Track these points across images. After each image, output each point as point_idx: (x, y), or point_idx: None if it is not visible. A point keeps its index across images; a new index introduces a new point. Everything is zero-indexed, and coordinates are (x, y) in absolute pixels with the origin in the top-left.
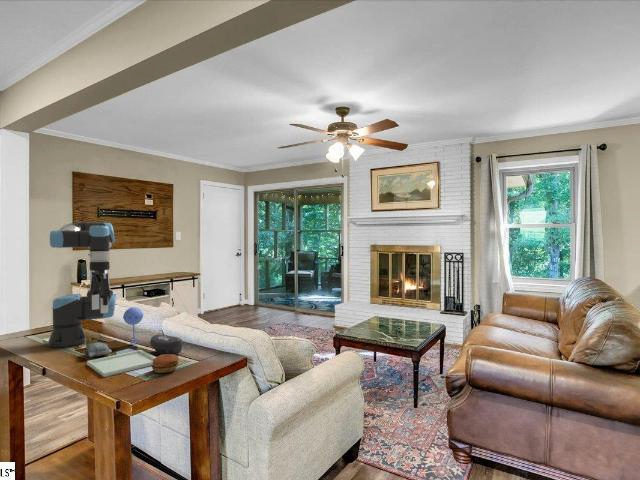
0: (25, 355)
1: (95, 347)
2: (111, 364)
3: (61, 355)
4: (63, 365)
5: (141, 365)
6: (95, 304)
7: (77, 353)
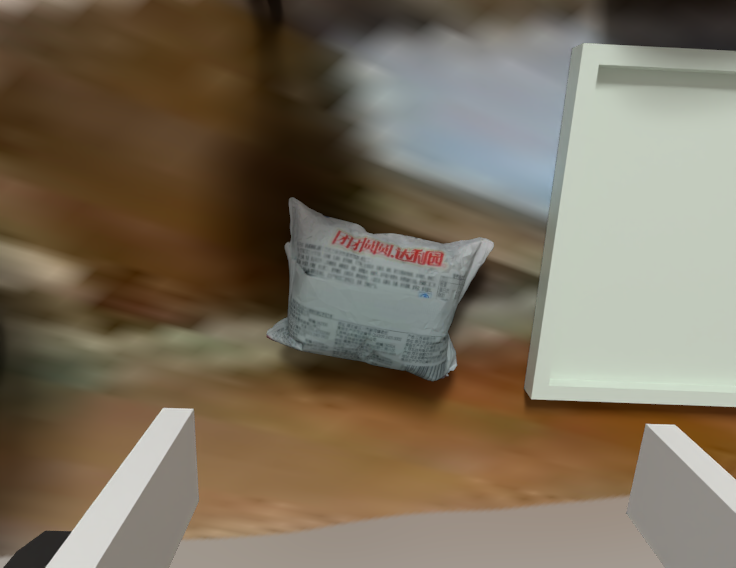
0: None
1: (438, 342)
2: (677, 307)
3: None
4: (421, 469)
5: None
6: (165, 524)
7: (205, 350)
